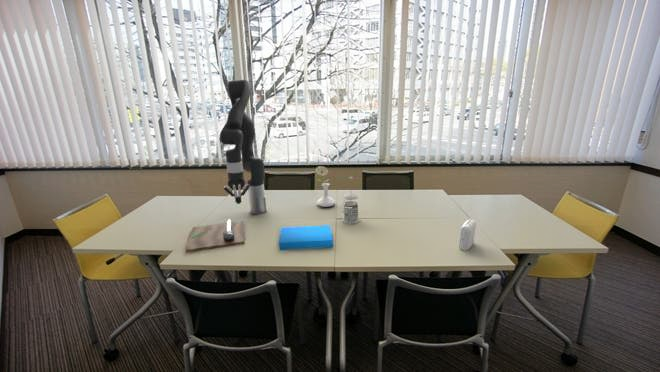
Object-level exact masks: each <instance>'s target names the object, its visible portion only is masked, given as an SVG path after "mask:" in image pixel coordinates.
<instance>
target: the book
mask: <svg viewBox="0 0 660 372" xmlns="http://www.w3.org/2000/svg"><path fill="white" fill-rule="evenodd" d="M278 248H279V249H278V250H279V251H283V250H285V251H286V250H287V251H288V250H300V249H301V250H302V249H303V250H305V249H319V248H321V249H322V248H334V239H333V235H332V228H331V225H330V224H329V225H328V224H327V225H307V226H290V227H289V226H288V227H287V226H286V227H281V228H280V234H279V241H278Z"/></svg>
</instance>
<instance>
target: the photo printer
mask: <svg viewBox="0 0 660 372" xmlns="http://www.w3.org/2000/svg"><path fill="white" fill-rule="evenodd" d="M476 227H477V222H476V221H475V220H474V219H468V220H466V221H465V222H464V223H463V224H462V226H461V228H460V230H461V231H460V238H459V246H458V248H459V250H461V251H468V250H469V249H471V247H472V246H473V244H474V243H475V241H474V240H475V234H476Z"/></svg>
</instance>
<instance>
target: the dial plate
mask: <svg viewBox="0 0 660 372" xmlns="http://www.w3.org/2000/svg"><path fill="white" fill-rule="evenodd" d="M227 223H228V222H223V223H214V224H208V225H200V226H193V227H192V228H191V232H190V236H189V238H188V241H187V245H186V248H185V253H186V254H188V252H189V253H194V252H201V251H208V250H209V251H210V250H213V249H214V250H216V249H220V248H221V249H222V248H229V247H235V246H240V245H245V239H246V238H245V227H244V226H245V224H244V223H245V222H244V220H239V221H231V231H233V232H234V237H235V239H234V240H232V241H228V242H227V241H224V238H223V233H224V232H226V231H227Z"/></svg>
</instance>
